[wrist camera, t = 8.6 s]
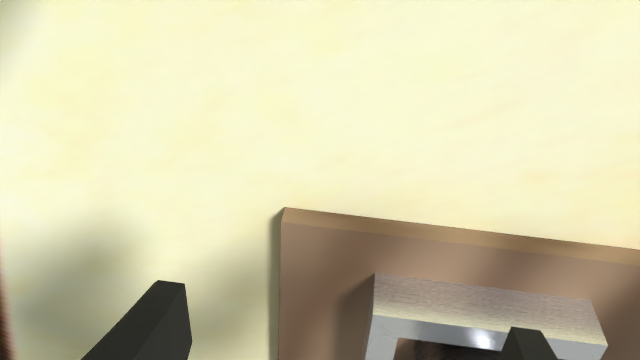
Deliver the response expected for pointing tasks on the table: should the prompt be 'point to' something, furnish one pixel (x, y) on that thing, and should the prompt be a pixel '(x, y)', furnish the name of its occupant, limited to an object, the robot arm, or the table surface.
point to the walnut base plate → (434, 277)
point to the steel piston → (451, 352)
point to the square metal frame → (475, 317)
